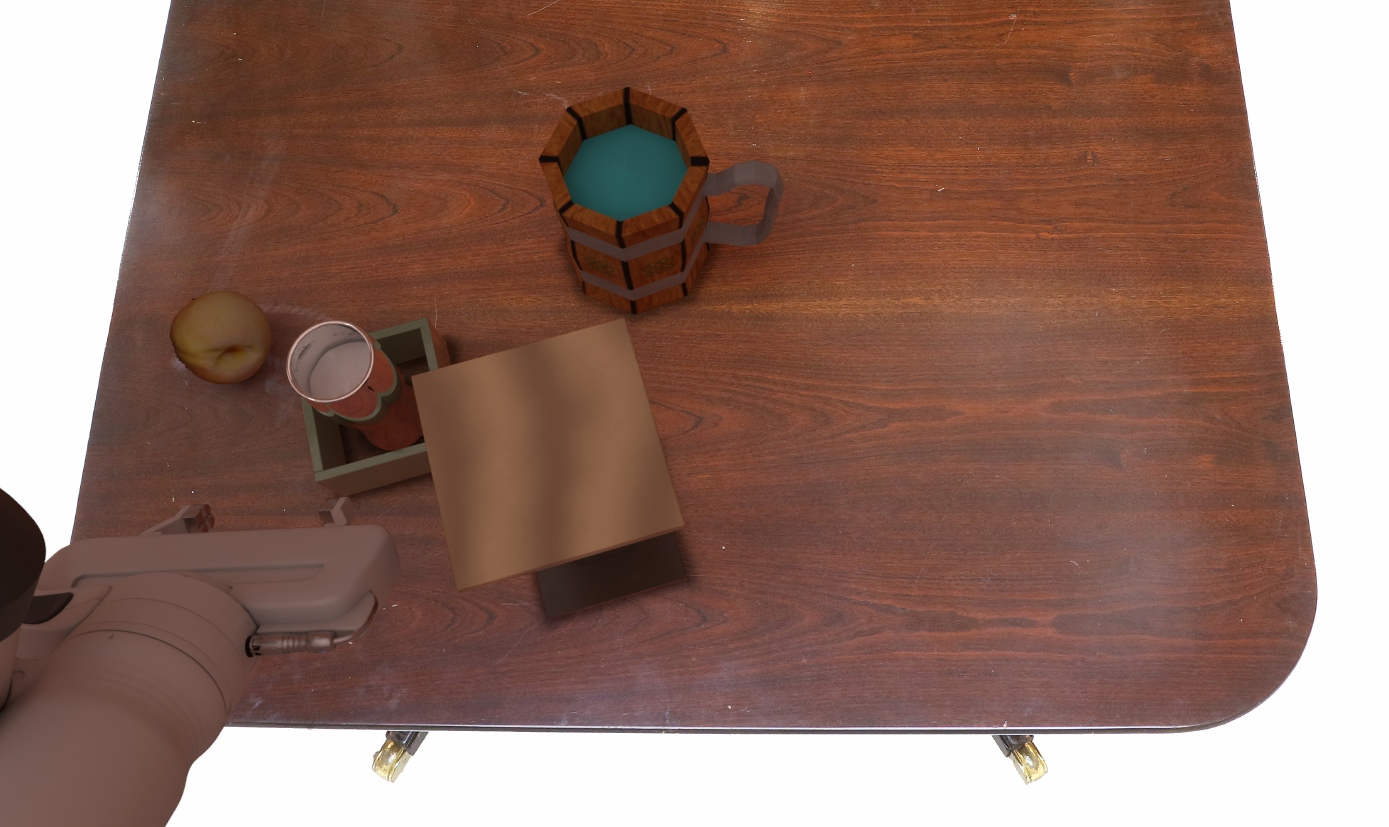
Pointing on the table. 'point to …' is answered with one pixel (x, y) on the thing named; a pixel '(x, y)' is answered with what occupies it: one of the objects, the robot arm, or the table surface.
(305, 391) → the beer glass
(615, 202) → the mug
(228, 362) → the fruit
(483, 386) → the square wooden board
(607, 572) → the stand post
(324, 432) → the holder
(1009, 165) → the table surface
